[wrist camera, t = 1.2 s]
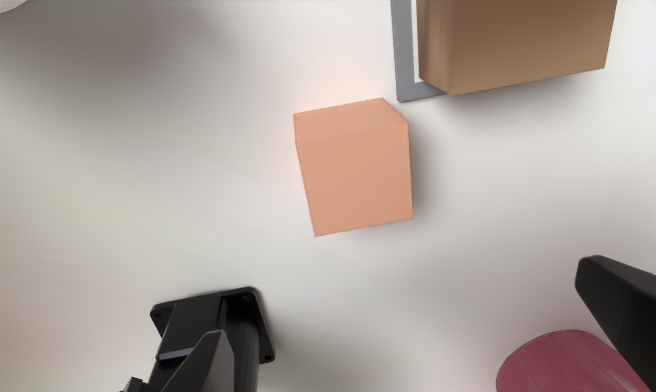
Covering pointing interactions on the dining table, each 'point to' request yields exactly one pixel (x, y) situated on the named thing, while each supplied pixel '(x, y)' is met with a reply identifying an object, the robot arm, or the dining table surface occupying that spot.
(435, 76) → the base block
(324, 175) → the cube
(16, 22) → the dining table surface
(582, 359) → the plant pot
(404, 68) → the gray square frame
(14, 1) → the mug
